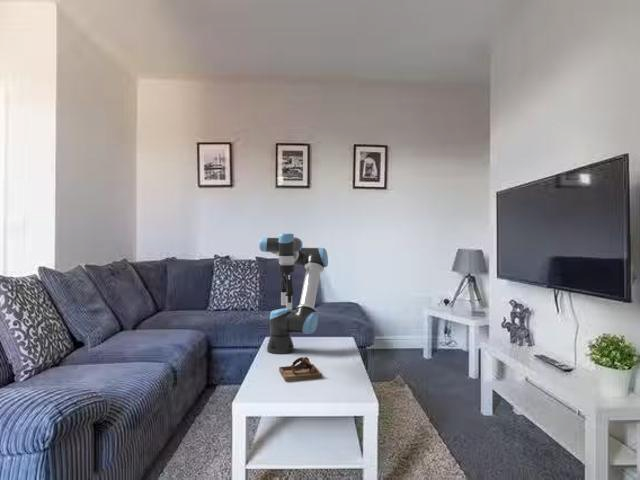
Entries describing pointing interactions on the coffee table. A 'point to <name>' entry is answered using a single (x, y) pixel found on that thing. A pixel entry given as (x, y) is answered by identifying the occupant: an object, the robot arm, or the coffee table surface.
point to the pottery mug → (302, 364)
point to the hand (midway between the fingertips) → (286, 307)
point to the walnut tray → (299, 374)
